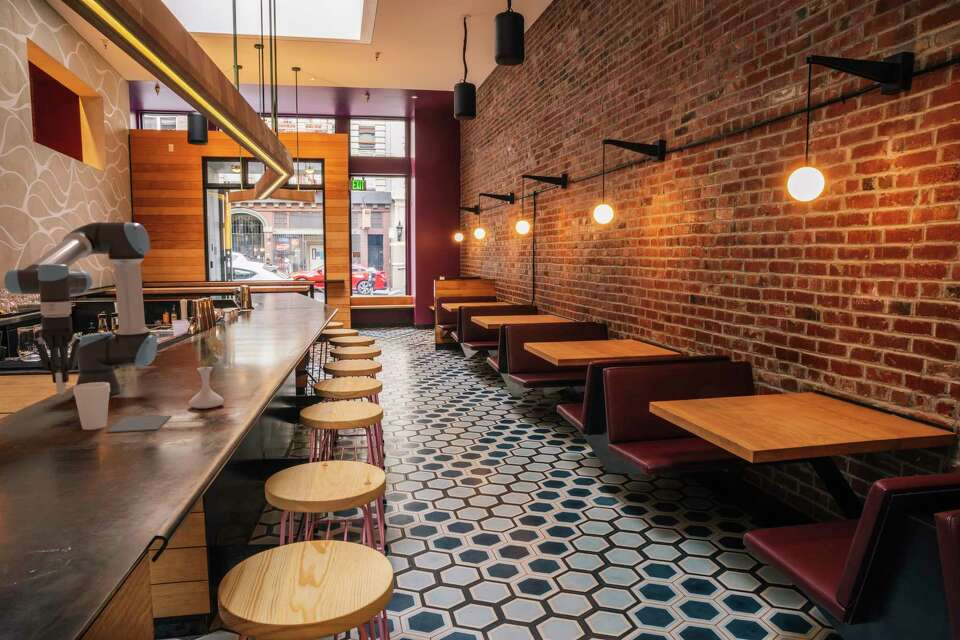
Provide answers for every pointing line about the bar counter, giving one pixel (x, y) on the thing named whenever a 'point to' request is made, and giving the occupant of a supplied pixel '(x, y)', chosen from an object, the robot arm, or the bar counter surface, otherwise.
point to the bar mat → (139, 424)
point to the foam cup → (92, 404)
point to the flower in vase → (206, 395)
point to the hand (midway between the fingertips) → (61, 393)
